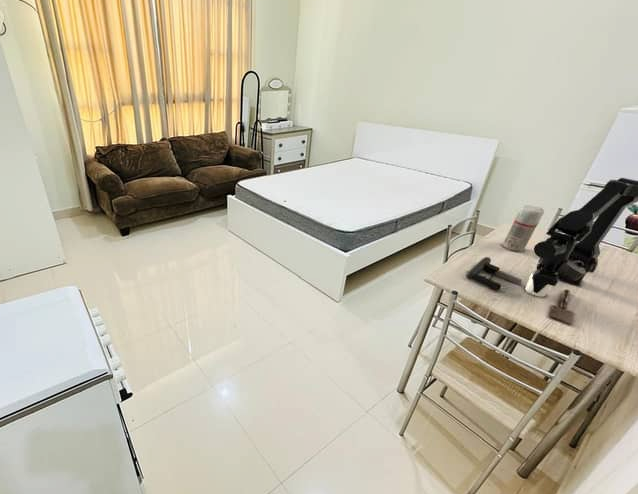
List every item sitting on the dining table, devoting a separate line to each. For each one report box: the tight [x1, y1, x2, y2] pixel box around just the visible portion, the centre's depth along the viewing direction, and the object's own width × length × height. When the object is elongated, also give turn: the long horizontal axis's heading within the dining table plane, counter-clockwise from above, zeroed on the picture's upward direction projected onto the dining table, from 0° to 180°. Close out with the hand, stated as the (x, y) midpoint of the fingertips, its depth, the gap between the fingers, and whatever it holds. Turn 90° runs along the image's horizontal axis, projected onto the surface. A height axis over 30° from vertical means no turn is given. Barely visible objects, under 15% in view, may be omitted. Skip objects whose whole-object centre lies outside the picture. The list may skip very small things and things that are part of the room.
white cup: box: [525, 270, 553, 298], centre depth 115 cm, size 7×7×7 cm
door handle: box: [464, 256, 523, 291], centre depth 124 cm, size 3×20×16 cm
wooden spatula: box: [549, 289, 574, 326], centre depth 110 cm, size 5×22×2 cm, turn 134°
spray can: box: [502, 204, 545, 252], centre depth 141 cm, size 8×8×20 cm
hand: (536, 288), depth 116 cm, fingers closed on white cup, 6 cm apart
